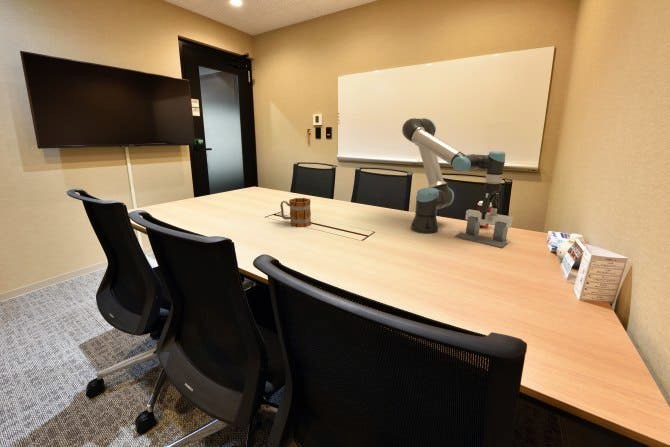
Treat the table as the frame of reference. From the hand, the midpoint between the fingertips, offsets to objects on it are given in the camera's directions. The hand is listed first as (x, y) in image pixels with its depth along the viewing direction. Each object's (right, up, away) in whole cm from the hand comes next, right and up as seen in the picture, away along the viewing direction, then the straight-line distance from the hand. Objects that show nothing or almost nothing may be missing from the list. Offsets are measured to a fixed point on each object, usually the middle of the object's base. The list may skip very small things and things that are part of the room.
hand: (487, 222), depth 164 cm
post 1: (-5, -6, +7) cm, 11 cm away
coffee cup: (+6, -3, +19) cm, 21 cm away
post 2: (+5, -9, -2) cm, 11 cm away
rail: (0, 0, 0) cm, 0 cm away
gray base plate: (-5, -9, -3) cm, 11 cm away
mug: (-105, -1, +27) cm, 108 cm away
